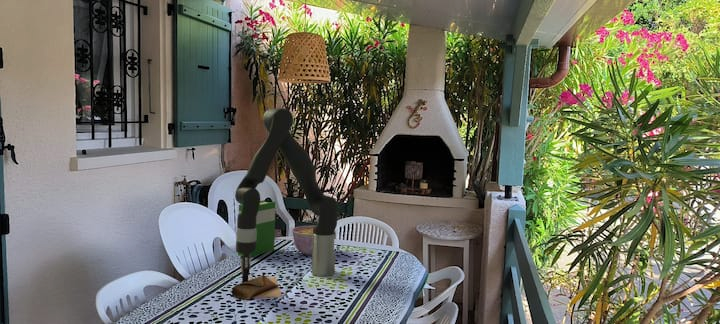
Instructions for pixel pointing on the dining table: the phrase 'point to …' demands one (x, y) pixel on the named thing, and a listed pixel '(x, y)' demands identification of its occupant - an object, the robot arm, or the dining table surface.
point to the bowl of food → (303, 239)
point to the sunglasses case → (253, 287)
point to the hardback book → (264, 228)
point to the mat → (270, 291)
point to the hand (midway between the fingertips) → (245, 284)
